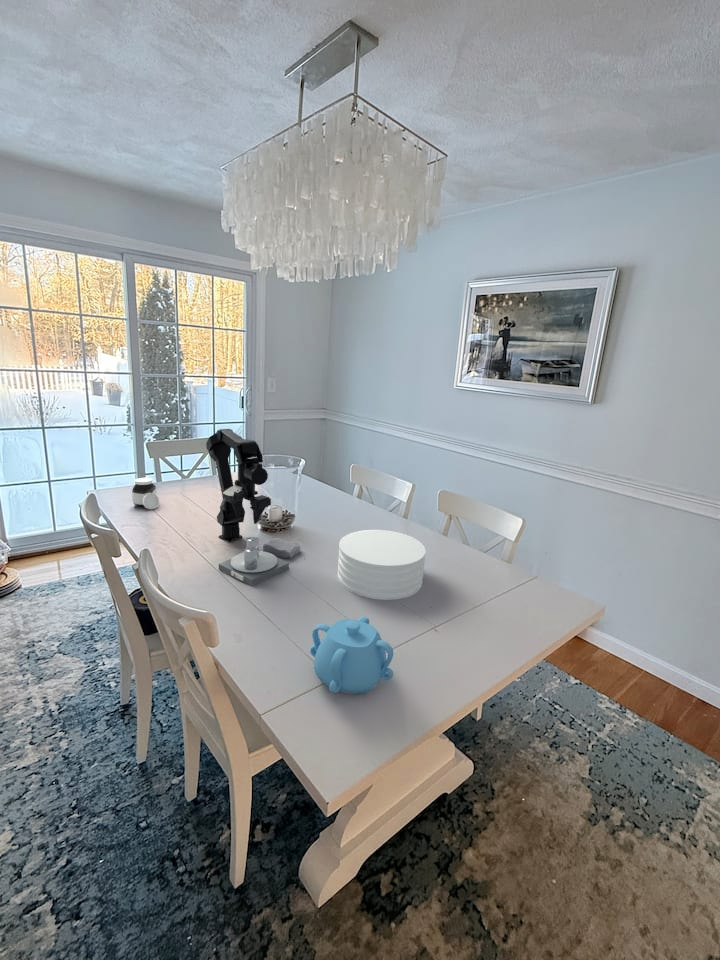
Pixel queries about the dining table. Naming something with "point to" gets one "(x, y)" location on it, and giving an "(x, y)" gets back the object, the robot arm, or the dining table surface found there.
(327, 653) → the decorative pot
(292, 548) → the stone block
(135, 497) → the spread jar
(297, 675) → the dining table surface
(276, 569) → the scale
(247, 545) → the cylinder
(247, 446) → the robot arm
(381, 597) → the plate stack
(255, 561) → the cylinder
